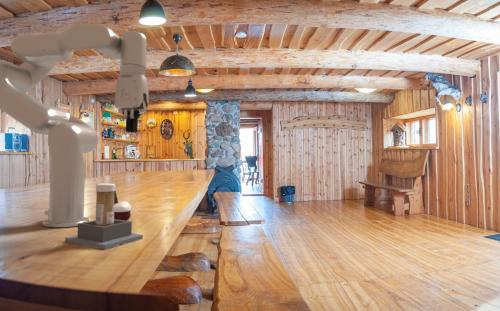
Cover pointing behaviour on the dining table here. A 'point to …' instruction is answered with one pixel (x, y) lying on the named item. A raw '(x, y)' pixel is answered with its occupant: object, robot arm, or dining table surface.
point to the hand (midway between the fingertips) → (131, 132)
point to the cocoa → (121, 209)
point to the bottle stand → (104, 234)
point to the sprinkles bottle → (105, 204)
